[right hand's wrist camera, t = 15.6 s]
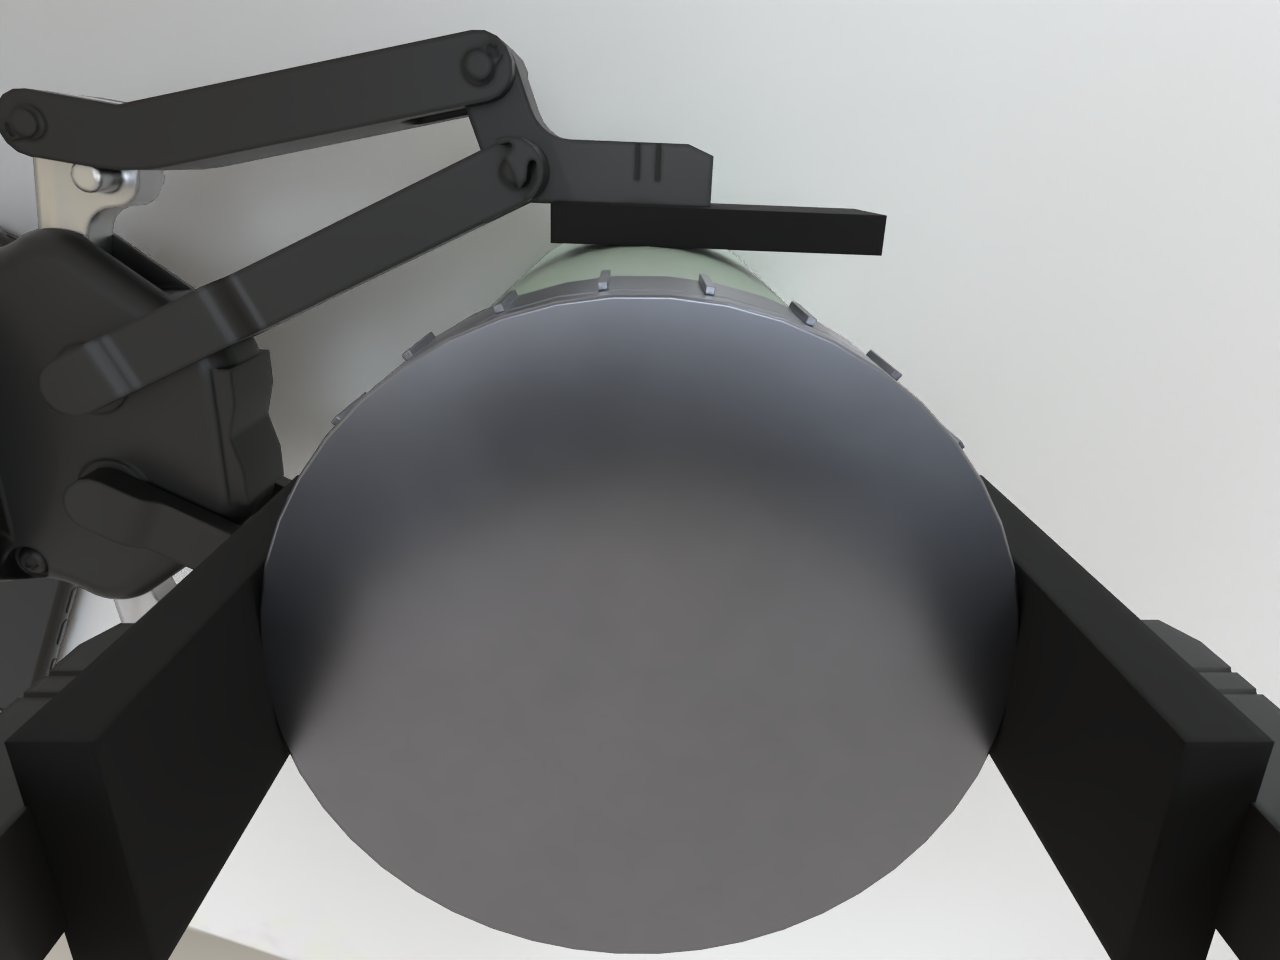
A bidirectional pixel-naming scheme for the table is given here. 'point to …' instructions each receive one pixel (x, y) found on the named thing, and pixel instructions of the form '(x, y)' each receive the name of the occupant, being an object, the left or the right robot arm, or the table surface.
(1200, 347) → the table surface
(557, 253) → the jar
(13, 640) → the smartphone
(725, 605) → the lid
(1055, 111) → the table surface
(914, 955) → the table surface
